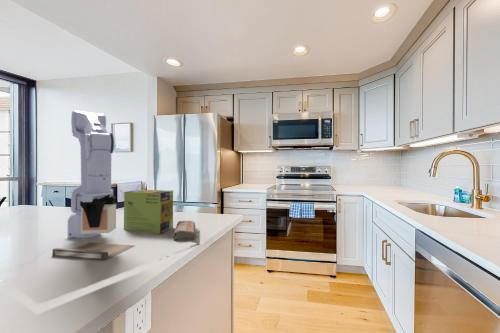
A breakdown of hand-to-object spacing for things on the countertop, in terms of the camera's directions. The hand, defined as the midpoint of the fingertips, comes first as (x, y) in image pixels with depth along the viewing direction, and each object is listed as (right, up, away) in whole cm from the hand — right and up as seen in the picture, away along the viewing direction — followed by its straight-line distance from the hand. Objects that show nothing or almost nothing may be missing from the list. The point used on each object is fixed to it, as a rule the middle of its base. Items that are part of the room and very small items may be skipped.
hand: (99, 224), depth 69 cm
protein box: (+2, -9, +29) cm, 31 cm away
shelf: (-2, -9, +2) cm, 9 cm away
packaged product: (+19, -10, +20) cm, 29 cm away
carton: (0, -2, 0) cm, 2 cm away
